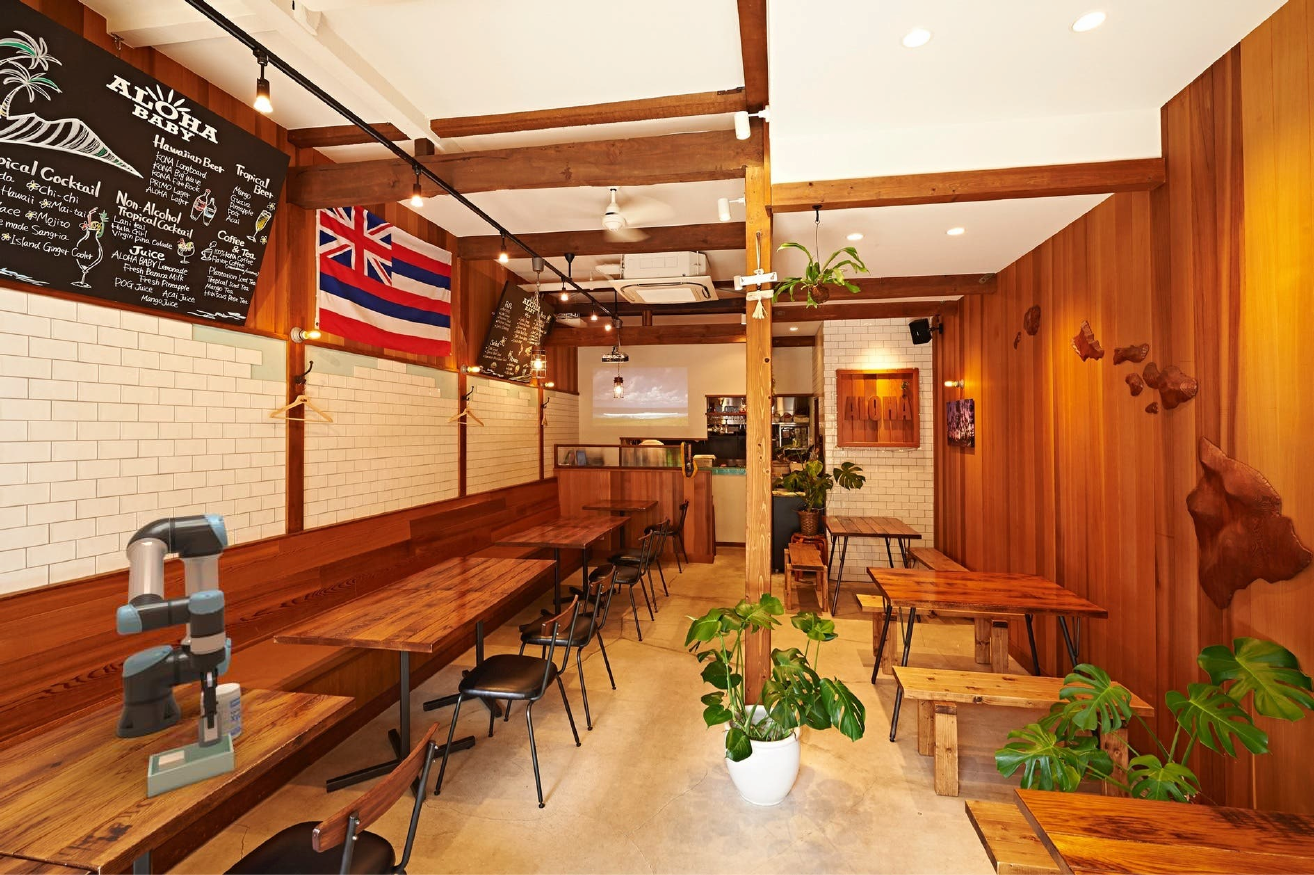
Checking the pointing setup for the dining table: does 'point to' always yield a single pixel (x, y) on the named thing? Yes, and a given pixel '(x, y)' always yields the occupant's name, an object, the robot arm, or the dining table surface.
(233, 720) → the supplement tub
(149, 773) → the teal tote
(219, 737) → the charcoal cylinder
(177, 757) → the tan cube
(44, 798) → the dining table surface
